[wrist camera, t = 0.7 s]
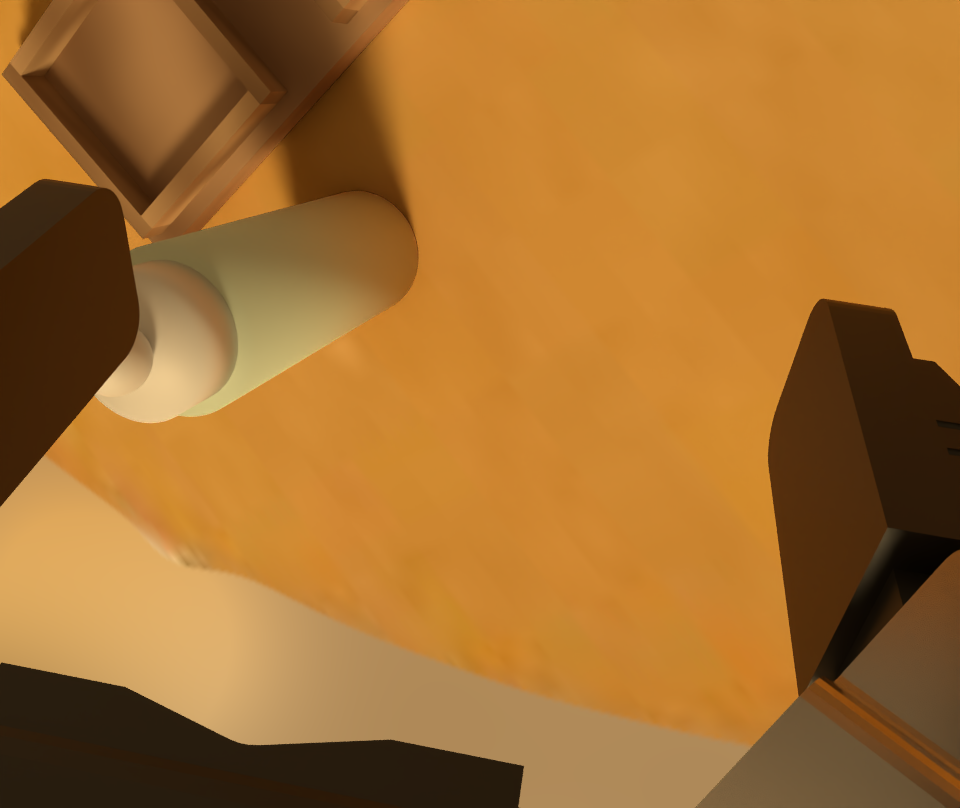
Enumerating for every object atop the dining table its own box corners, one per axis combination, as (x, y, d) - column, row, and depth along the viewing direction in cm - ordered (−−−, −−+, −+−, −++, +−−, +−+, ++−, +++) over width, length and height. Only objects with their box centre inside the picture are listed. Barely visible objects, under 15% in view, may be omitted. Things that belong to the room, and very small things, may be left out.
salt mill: (361, 164, 33) (70, 224, 19) (442, 262, 34) (213, 389, 20) (283, 244, 35) (-32, 350, 21) (360, 335, 36) (100, 499, 22)
